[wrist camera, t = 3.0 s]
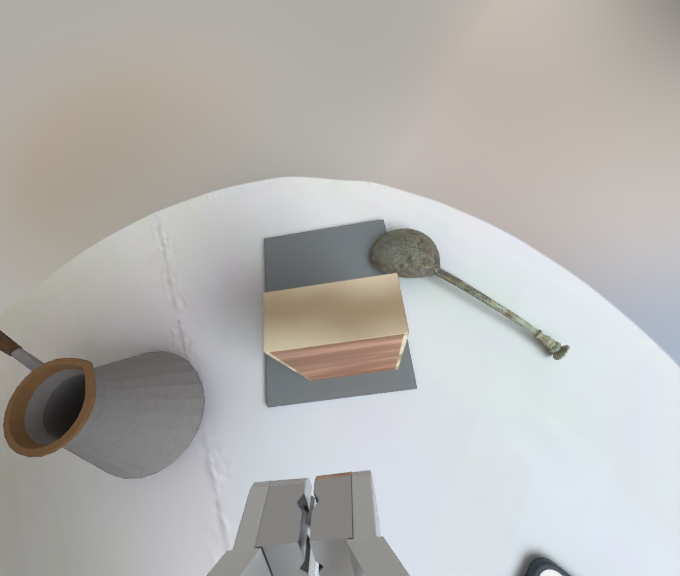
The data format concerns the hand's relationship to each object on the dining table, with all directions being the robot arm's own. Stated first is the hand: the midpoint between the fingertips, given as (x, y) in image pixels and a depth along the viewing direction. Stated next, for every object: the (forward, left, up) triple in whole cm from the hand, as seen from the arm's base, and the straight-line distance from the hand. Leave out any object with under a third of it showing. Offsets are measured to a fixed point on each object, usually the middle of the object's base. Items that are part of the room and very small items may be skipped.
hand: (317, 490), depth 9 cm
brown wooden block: (+8, 0, -23) cm, 24 cm away
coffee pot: (+8, +24, -24) cm, 35 cm away
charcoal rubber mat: (+14, +2, -23) cm, 27 cm away
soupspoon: (+13, -12, -23) cm, 30 cm away
